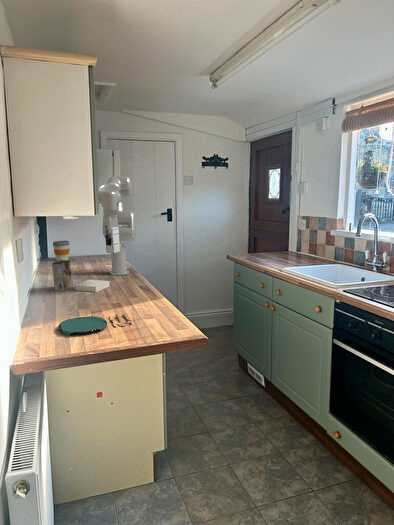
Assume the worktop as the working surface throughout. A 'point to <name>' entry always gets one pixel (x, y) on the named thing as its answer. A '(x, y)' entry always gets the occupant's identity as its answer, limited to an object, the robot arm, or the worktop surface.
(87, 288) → the base plinth
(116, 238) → the syrup box
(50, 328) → the worktop surface
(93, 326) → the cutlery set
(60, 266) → the coffee box
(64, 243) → the reusable coffee cup
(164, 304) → the worktop surface
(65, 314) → the worktop surface
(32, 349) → the worktop surface
